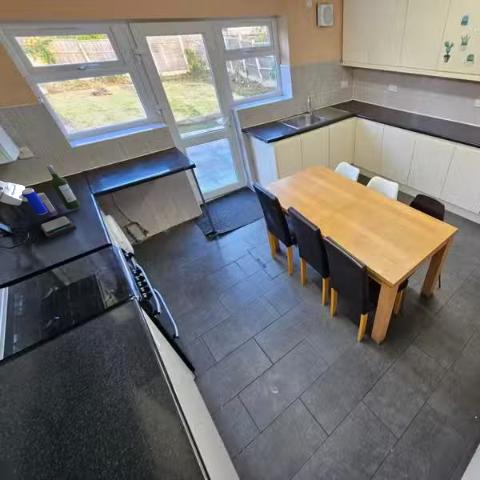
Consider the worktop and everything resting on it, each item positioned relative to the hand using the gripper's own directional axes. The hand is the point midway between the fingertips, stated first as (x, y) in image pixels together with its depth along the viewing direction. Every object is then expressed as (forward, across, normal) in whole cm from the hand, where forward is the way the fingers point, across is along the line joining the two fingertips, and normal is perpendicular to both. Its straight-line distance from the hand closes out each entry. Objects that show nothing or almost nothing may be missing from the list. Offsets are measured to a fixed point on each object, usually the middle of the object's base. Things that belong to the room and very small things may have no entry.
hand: (34, 199), depth 152 cm
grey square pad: (+14, -6, -15) cm, 21 cm away
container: (+14, -29, -20) cm, 37 cm away
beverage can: (+5, +1, -7) cm, 9 cm away
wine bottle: (+22, -31, -11) cm, 40 cm away
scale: (+16, -5, -17) cm, 24 cm away
